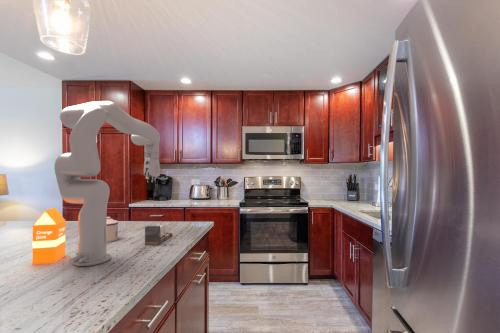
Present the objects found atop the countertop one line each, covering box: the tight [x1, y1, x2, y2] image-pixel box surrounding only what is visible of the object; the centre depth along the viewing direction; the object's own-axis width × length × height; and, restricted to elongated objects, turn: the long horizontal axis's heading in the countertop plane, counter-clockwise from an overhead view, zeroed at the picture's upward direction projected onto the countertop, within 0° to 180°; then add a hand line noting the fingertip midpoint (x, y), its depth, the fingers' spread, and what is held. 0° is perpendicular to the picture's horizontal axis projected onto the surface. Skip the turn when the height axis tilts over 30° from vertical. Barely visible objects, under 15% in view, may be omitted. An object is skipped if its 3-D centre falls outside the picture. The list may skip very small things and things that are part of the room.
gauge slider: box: [155, 223, 166, 238], centre depth 130 cm, size 6×6×6 cm
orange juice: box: [31, 207, 67, 265], centre depth 103 cm, size 8×9×20 cm
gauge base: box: [144, 225, 173, 246], centre depth 131 cm, size 18×6×8 cm, turn 175°
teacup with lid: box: [106, 216, 119, 243], centre depth 133 cm, size 12×9×12 cm
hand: (151, 189), depth 141 cm, fingers closed
